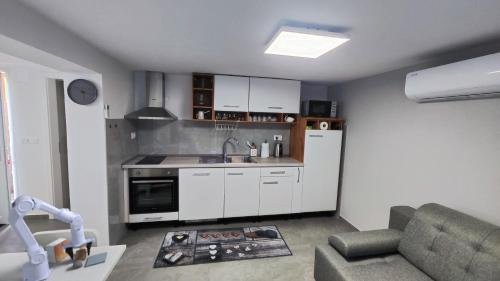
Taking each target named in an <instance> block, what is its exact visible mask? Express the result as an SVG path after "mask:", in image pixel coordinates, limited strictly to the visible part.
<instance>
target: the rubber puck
mask: <svg viewBox="0 0 500 281" xmlns="http://www.w3.org/2000/svg"><path fill="white" fill-rule="evenodd" d="M82 267H83V261H82V260H76V261H75V260H74V261H73V262H72V268H73V270H79V269H81V268H82Z"/></svg>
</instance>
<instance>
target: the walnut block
mask: <svg viewBox="0 0 500 281" xmlns="http://www.w3.org/2000/svg"><path fill="white" fill-rule="evenodd" d="M87 257H88V254H87V253H86V248H85V249H81V250H79V249H78V250H76V251H75V253H74V262H75V261H76V260H82V262H84V261H86V258H87Z"/></svg>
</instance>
